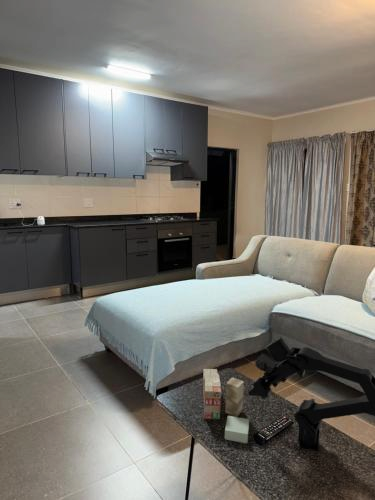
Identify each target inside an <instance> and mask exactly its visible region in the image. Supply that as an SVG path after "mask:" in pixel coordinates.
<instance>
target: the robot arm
mask: <svg viewBox="0 0 375 500" xmlns="http://www.w3.org/2000/svg"><path fill="white" fill-rule="evenodd" d="M265 348H266V350H267V351H268V353H269V354H270V355H271V357H272V358H273V360H272V359H271V358H270V357H268V356H267V355H266V354H265V353H261V354H260V356H259V357H258V358H257V359H256V361H255V363H254V364H255V367H256V368H257V369H259V370H260V372H261V371H263V375H262V377H261V376H259V378H256V379H255V380H254V382H253V383H252V385H253V387H252V388H251V389H250V390H249V391H247V394H248V395H249V396H254V397H255V396H256V397H260V398H261V399H262V400H266V399H267V398H268V397H269V396H270V394H271V393H272V388H271V386H273V387H274V388H277V387H278V385H279V384H281V383H285V382H286V381H287V380H288V379H290V378H291V377H293V376H295V375H298V376H299V377H300V379H303V377H304V376H305V374H306V371H308V372H322V373H326V374H328V375H332V376H333V377H337V378H341V379H343V380H346V381H349V382H353V383H355V384H359V386H360V387H361V388H362V391H363V393H364V395H362V396H359V397H354V398H348V399H342V400H337V401H330V402H325V403H318V402H316V401H315V398H311V399H307V400H306V399H304V400H303V401H302V402H301V403H300V404H299V406H298V408H297V410H296V412H295V413H294V419H295V421H296V422H297V425H298V427H297V441H298V446H299V447H300V448H304V449H308V450H311V451H313V450H314V451H317V452H319V450H320V447H319V443H320V442H319V441H320V433H321V431H320V425H321V422H322V420H323V421H324V420H325V419H326V420H327V419H334V418H342V417H347V416H355V415H360V414H367V415H368V416H369V415H370V416H373V417H375V375H373V374H372V372H371V371H370V370H368V369H367V368H360V367H358V366H354V365H351V364H348V363H345V362H341V361H338V360H334V359H331V358H329V357H325V356H323V355H322V354H321V353H320V352H318V351H317V350H314V349H312V348H310V347H306V346H305V347H302V348H301V347H291V348H289V346H288V345H287V344H286V343H285V340H284V339H283V338H282V337H279V338H277V339H274V340H272V341H271V342H269V343H268V344H267V345H266V346H265Z"/></svg>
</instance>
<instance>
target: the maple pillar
mask: <svg viewBox="0 0 375 500" xmlns="http://www.w3.org/2000/svg"><path fill="white" fill-rule="evenodd" d="M244 383H245V381H243V380H241V379H238V378H235V377H231V378H229V380H228V381H227V382H226V384H225V385H226V389H225V407H224V408H225V410H224V411H225V413H226V414H228V415H229V416H233V417H239V415H240V414H241V413H242V412H243V401H244V387H245V386H244Z"/></svg>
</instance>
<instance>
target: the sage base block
mask: <svg viewBox="0 0 375 500" xmlns="http://www.w3.org/2000/svg"><path fill="white" fill-rule="evenodd" d="M249 427H250V419H248V418H244V417H239V416H237V417H234V416H232V415H227V419H226V423H225V429H224V440H228V441H233V442H237V443H243V444H248V440H249Z"/></svg>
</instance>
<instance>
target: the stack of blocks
mask: <svg viewBox="0 0 375 500" xmlns="http://www.w3.org/2000/svg"><path fill="white" fill-rule="evenodd" d="M202 372H203V373H202V374H203V375H202V376H203V378H202V385H203V387H202V389H203V390H202V392H203V395H202V396H203V397H202V398H203V419H204V420H221V404H222V388H221V387H222V386H221V380H220V379H221V378H220V374H219V373H218V369H217V368H203V369H202Z"/></svg>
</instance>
